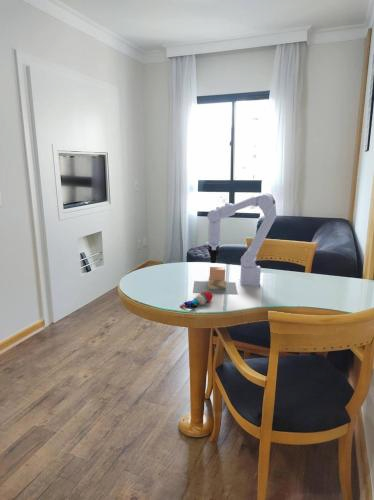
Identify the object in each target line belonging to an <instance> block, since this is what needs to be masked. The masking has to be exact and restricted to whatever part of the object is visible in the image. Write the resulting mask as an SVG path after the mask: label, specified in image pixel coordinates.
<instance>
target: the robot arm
mask: <svg viewBox="0 0 374 500" xmlns="http://www.w3.org/2000/svg"><path fill="white" fill-rule="evenodd" d="M248 207H259V209H260V210H261V211H262V213H263V217H264V218H263V220H262V222H261V224H260V226H259V228H258V229H257V232H256V233H255V236H254V237H253V239H252V241H251V243H250V246H249V247H248V248H247V250H246V251H245V252H244V254H243V255H242V256H241V258H240V275H239V276H240V277H239V279H238V283H239V285H240V286H259V287H260V283H261V266H260V265H257V263H256V260H257V259H258V254H259V253H258V252H259V250H260V248H261V247H262V245H263V243H264V241H265V239H266V237H267V236H268V233H269V231H270V230H271V228H272V225H273V224H274V222H275V221H276V219H277V207H276V200H275V198H274V196H273V195H272V194H271V193H268V192H267V193H263V194H259V195H258V194H257V195H255V196H254V195H253V196H252V197H250V198H247V199H244V200H242V201H240V202H236V203H231V202H227V203H225V204H224V205H222V206H216V207H215V208H214V209H211V210H210V211H208V213H207V219H208V228H207V229H208V235H207V237H208V238H207V241H206V242H205V245H207V246H208V248H207V251H208V253H209V258H210V263H211V264H216V262H217V258H218V254H219V252H220V251H221V250H220V249H219V247H220V245H221V242H220V241H221V219H226V218H228V217H231V216H234V215H235V214H236V212H237V211H239V210H242V209H246V208H248Z"/></svg>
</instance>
